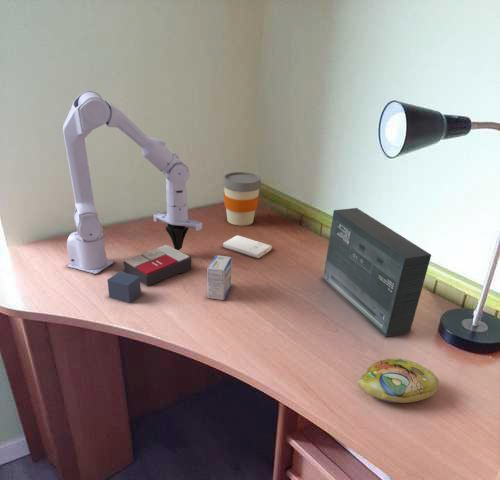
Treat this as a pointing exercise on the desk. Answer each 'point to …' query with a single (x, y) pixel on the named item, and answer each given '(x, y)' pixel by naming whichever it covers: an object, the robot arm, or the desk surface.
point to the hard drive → (247, 246)
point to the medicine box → (219, 277)
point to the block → (124, 287)
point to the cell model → (399, 381)
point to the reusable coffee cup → (241, 197)
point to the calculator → (157, 264)
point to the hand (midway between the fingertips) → (178, 248)
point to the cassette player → (375, 270)
